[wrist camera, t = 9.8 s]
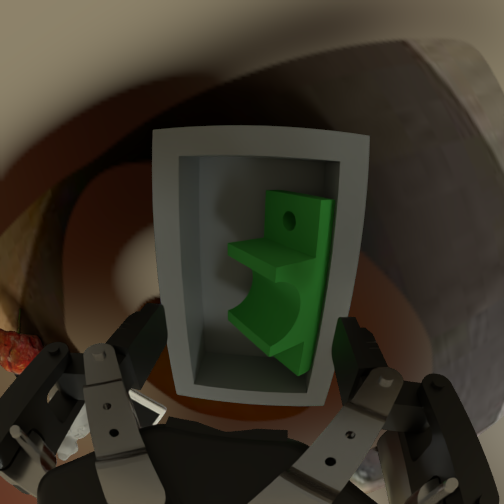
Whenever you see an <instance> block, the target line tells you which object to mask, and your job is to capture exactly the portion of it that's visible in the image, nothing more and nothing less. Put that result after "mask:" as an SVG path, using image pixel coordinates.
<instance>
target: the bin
mask: <svg viewBox="0 0 504 504" xmlns="http://www.w3.org/2000/svg"><path fill="white" fill-rule="evenodd" d="M369 144H370V136H367V135H360V134H353V133H346V132H338V131H330V130H320V129H310V128H297V127H280V126H250V125H226V126H196V127H179V128H167V129H156V130H153V140H152V191H153V192H152V193H153V218H154V236H155V250H156V261H157V272H158V281H159V290H160V299H161V304H162V305H163V306H164V309H165V316H166V323H167V330H168V339H167V346H168V352H169V357H170V363H171V368H172V373H173V378H174V383H175V387H176V392H177V394H178V395H184V396H190V397H196V398H202V399H209V400H217V401H225V402H235V403H246V404H259V405H278V406H324V403H325V400H326V397H327V394H328V390H329V387H330V384H331V380H332V377H333V373H334V370H335V369H334V365H333V361H332V355H331V349H332V343H333V338H334V334H335V329H336V324H337V320H338V318H339V317H348V313H349V309H350V304H351V299H352V294H353V288H354V283H355V277H356V271H357V266H358V259H359V253H360V246H361V239H362V231H363V223H364V214H365V205H366V194H367V181H368V166H369ZM266 190H284V191H290V192H296V193H302V194H308V195H313V196H319V197H324V198H329V199H334V200H335V208H334V219H333V229H332V238H331V247H330V256H329V264H328V271H327V278H326V285H325V292H324V299H323V305H322V311H321V317H320V323H319V328H318V334H317V339H316V344H315V349H314V354H313V359H312V364H311V369H310V370H309V371H307V372H305V373H303V374H302V375H300V376H297V375H296V374H295V373H293V372H292V371H291V370H290V369H288V368H287V367H286V366H285V365H284V364H282V363H281V362H280V361H279V360H278V359H276V358H275V357H274V356H271V357H269V356H267V355H266V354H265V353H264V352H263V351H262V350H261V349H259V348H258V347H257V346H256V345H255V344H254V343H253V342H252V341H250V340H249V339H248V338H247V337H246V336H245V335H244V334H243V333H242V332H240V331H239V330H238V329H237V328H236V327H235V326H234V325H233V324H232V323H231V322H230V321H228V310H230V309H232V308H234V307H236V306H237V305H239V304H240V303H241V302H242V301H243V300H244V299H245V298H246V296H247V295H248V293H249V291H250V289H251V286H252V281H253V273H252V269H250V268H249V267H247V266H245V265H243V264H242V263H240V262H238V261H237V260H235V259H233V258H231V257H230V256H228V243H231V242H237V241H244V240H250V239H257V238H263V237H264V224H265V199H266Z"/></svg>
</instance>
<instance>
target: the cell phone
mask: <svg viewBox="0 0 504 504" xmlns="http://www.w3.org/2000/svg"><path fill="white" fill-rule="evenodd" d="M129 395H130V398H131V401H132V403H133V406H134V409H135V412H136V415H137V417H138V420H139V423H140V425H141V428H143V427H147V426H151V425H156V424H157V423H158V422H159V420H160V419H161V418H162V416H163V415H164V413H165V412H166V410H167V408H166V407H165V406H164V405H162V404H160V403H158V402H157V401H154V400H153V399H151V398H149V397H147V396H146V395H144V394H142V393H141V392H139V391H137V390H135V389H134V388H131V389H130V391H129Z"/></svg>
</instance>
